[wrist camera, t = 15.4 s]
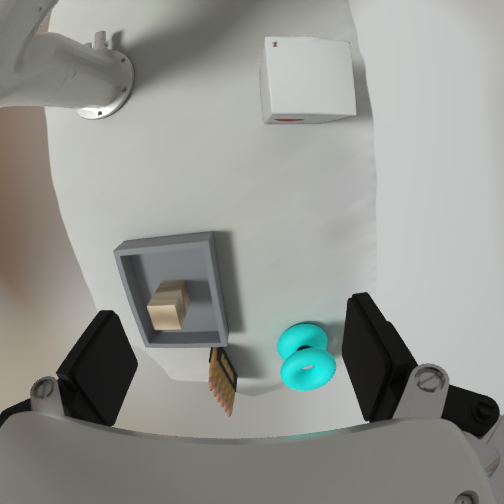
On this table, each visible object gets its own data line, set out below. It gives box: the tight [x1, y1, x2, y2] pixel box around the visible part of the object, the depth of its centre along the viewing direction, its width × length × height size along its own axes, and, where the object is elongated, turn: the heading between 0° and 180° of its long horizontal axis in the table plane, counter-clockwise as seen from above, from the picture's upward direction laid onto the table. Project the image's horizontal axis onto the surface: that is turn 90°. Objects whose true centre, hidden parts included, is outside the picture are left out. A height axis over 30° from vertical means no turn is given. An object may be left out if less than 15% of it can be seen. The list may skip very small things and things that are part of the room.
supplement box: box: [260, 36, 357, 124], centre depth 29 cm, size 9×9×15 cm
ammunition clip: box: [209, 347, 237, 417], centre depth 49 cm, size 11×2×12 cm, turn 17°
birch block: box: [147, 280, 191, 330], centre depth 43 cm, size 4×4×8 cm
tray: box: [113, 231, 229, 348], centre depth 46 cm, size 20×16×4 cm
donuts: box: [277, 324, 336, 391], centre depth 48 cm, size 10×10×10 cm
